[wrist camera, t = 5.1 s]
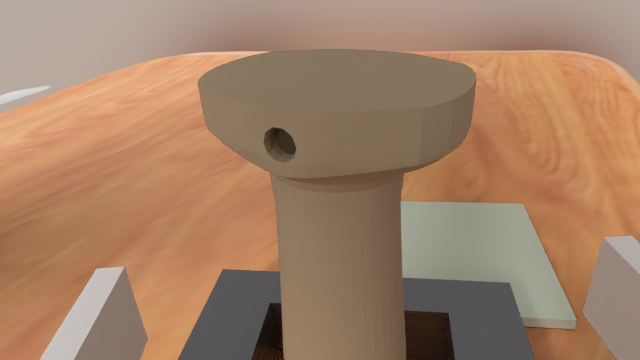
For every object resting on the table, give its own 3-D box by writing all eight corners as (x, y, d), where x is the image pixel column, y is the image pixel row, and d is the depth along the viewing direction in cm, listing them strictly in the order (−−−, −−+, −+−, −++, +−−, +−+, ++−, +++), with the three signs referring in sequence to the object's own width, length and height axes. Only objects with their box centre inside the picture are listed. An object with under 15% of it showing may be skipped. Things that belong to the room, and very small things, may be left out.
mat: (351, 316, 24) (351, 307, 24) (363, 207, 34) (363, 200, 34) (574, 329, 23) (577, 320, 23) (521, 210, 32) (522, 203, 32)
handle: (307, 379, 21) (273, 44, 14) (449, 440, 18) (495, 57, 11) (244, 478, 17) (155, 90, 10) (408, 572, 15) (440, 127, 8)
